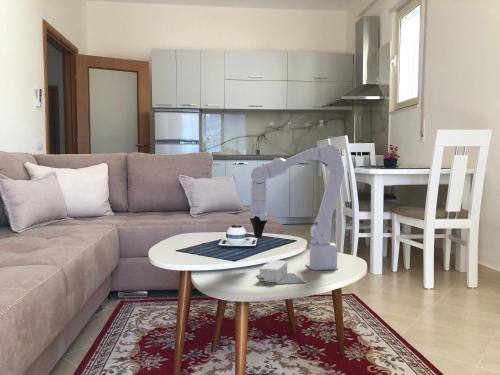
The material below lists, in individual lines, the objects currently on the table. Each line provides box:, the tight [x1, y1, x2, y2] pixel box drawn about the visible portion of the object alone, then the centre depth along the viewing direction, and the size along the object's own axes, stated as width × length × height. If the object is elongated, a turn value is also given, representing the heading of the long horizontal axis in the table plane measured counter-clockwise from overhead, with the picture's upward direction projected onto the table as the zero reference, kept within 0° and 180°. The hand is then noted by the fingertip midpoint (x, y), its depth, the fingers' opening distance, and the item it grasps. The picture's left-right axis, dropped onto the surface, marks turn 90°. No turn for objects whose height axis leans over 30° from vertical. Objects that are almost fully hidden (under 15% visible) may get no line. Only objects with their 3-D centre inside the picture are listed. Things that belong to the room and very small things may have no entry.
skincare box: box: [259, 259, 288, 283], centre depth 135 cm, size 6×4×12 cm
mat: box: [255, 272, 306, 286], centre depth 134 cm, size 13×11×1 cm
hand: (258, 237), depth 150 cm, fingers closed
